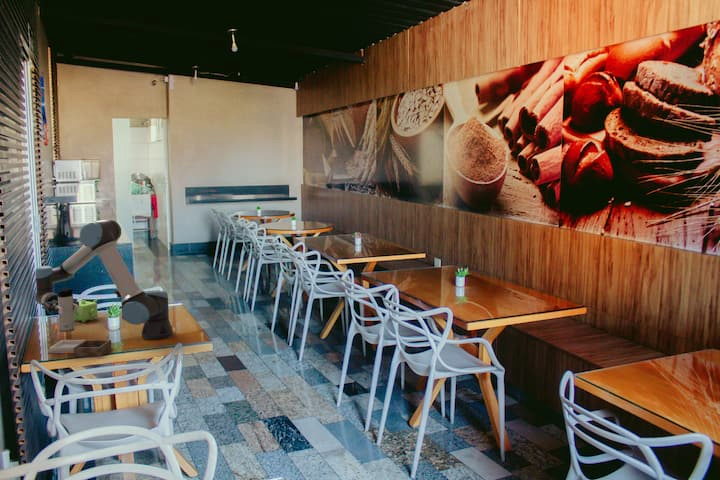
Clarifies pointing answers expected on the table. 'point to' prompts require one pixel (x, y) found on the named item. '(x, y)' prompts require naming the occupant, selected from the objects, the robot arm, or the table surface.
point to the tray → (65, 346)
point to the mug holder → (92, 348)
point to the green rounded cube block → (86, 311)
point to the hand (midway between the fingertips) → (70, 309)
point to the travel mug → (66, 310)
